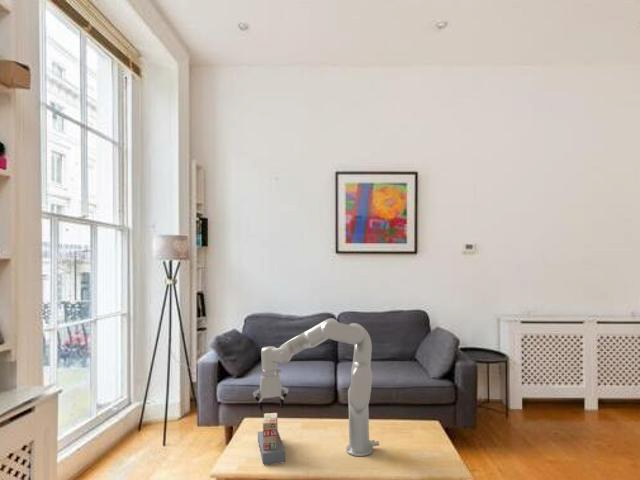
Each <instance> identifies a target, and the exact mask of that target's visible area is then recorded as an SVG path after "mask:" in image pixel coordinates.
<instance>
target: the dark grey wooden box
mask: <svg viewBox="0 0 640 480" xmlns="http://www.w3.org/2000/svg"><path fill="white" fill-rule="evenodd" d="M258 443H259V445H258V449H259V448H260V449H259V453H260V452H261V454H260V456H261V457H262V458H261V457H260V458H261V462H262V465H263V464H264V465H263V466H266V465H265V464H268V465H274V464H275V463H276V464H282V463H281V462H284V463H286V450H285V446H284V444H283V442H282V439H281V436H280V432H278V435H277V449H274V450H263V430H261V431H257V444H258Z"/></svg>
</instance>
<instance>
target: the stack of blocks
mask: <svg viewBox="0 0 640 480" xmlns="http://www.w3.org/2000/svg"><path fill="white" fill-rule="evenodd" d="M262 429H263V430H262V431H263V450H274V449H277V435H278V433H279V431H278V412H271V413H270V412H267V413H263V421H262Z"/></svg>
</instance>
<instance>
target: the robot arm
mask: <svg viewBox="0 0 640 480" xmlns="http://www.w3.org/2000/svg"><path fill="white" fill-rule="evenodd" d="M327 340H332V341H335V342H339V343H344V344H349V345H353V346H354V349H353V357H352V358H353V359H352V366H351V369H350V373H351V374H350V375H351V377H350V378H351V380H350V385H349V388H348V389H347V401H348V402H347V403H348V438H349V439H348V440H349V444H348V445H346V453H347V454H349V455H352V456H355V457H365V456H366V457H367V456H369V455H371V454H372V453H373V451H374V449H373V447H374V446H375V447H376V446H377V447H378V446H380V442H379V441H377V440H376V441H375V439H371V440H370V425H369V423H370V420H369V418H370V417H369V416H370V413H369V412H370V411H369V404H370V400H371V393H372V385H373V373H372V369H371V366H372V364H371V361H372V351H373V349H372V348H373V345H372V344H373V343H372V339H371V336H370V334H369V332H368V331H367V329H365V327H363V326H362V325H361V324H359V323H356V322H352V323H349V324H347V323H346V324H345V323H341V322H339V321H338V320H336V319H335V318H333V317H331V318H326V319H325V320H323V321H322V322H319V323H318V324H316V325H314V326H313V327H311V328H308V329H307V330H305V331H303V332H302V333H300V334H299V335H296V336H294V337H293V338H291V339H289V340H288V341H285V342H283V344H281V345H280V346H279V347H278V348H277V347H275V346H272V345H269V346H263V347H262V348H261V351H260V354H261V355H260V356H261V375H260V380H259V388H258V389H257V390H255V391H253V392H252V396H253V397H254V399H255V400H256V401H257V402H258V408H259V410H260V411H261V412H262V411H263V400H264V399H269V398H275V397H279V406H280V408H281V409H283V407H284V406H285V405H284V400H285V398H286V396H287V395H288V392H289V388H288V387H285V386H282V385H281V383H282V382H281V375H280V374H279V373H281V371H282V370H281V368H278V363H280V364H286V363H288V362H290V361H291V359H292V357H293V356H295V355H296V354H299V353H300V352H302V351H304V350H306V349H312V348H316V347H317V346H318V345H320V344H323V342H325V341H327ZM282 391H284V393H283V394H282ZM257 394H259V395H260V396H259V397H258V395H257Z"/></svg>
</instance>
